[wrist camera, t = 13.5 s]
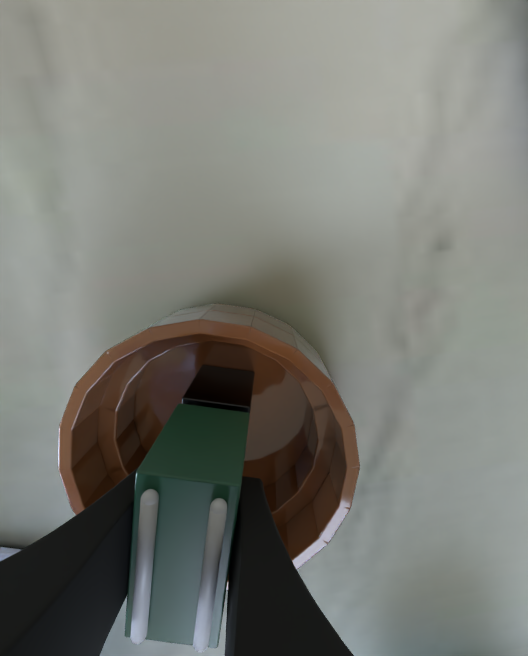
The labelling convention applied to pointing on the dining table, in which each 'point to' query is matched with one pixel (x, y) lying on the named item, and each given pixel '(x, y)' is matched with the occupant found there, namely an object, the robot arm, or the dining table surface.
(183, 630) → the green clip
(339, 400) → the bowl
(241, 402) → the black clip
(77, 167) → the dining table surface
